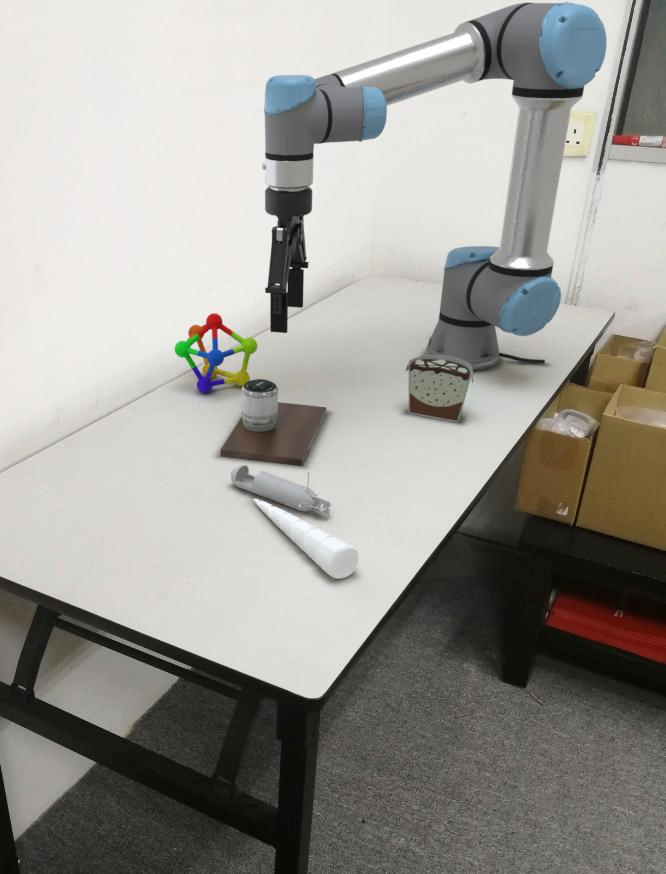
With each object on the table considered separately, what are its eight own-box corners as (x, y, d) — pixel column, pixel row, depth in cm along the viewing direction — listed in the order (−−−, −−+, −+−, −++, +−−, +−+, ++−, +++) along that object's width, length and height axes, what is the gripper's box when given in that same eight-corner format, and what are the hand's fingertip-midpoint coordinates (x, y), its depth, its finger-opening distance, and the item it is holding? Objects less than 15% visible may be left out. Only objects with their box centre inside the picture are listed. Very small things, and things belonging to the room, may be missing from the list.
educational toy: (169, 399, 166) (159, 322, 158) (199, 377, 176) (191, 303, 169) (242, 405, 160) (235, 326, 153) (269, 382, 170) (263, 306, 163)
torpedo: (223, 489, 134) (223, 451, 130) (242, 477, 137) (242, 440, 134) (320, 525, 125) (322, 486, 121) (337, 512, 128) (340, 474, 124)
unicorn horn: (275, 496, 132) (276, 468, 129) (359, 575, 114) (362, 545, 112) (248, 503, 130) (248, 475, 127) (329, 585, 112) (331, 554, 110)
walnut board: (326, 413, 159) (326, 407, 158) (302, 466, 141) (302, 459, 140) (252, 405, 162) (253, 399, 161) (220, 456, 143) (220, 449, 143)
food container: (474, 411, 160) (482, 360, 155) (466, 424, 155) (474, 371, 150) (410, 400, 164) (415, 349, 159) (400, 412, 160) (406, 360, 154)
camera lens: (283, 423, 152) (285, 381, 148) (265, 436, 147) (265, 393, 143) (254, 415, 155) (254, 373, 151) (234, 427, 150) (234, 385, 146)
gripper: (282, 172, 146) (281, 295, 158) (246, 201, 126) (248, 341, 137) (325, 173, 145) (321, 298, 156) (296, 204, 124) (294, 345, 136)
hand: (287, 318), depth 147 cm, fingers open, 13 cm apart
